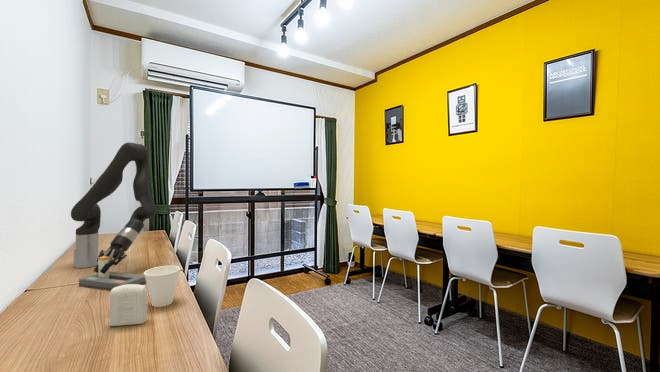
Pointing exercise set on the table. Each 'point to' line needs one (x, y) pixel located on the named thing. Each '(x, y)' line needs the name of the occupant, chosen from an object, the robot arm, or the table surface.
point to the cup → (162, 284)
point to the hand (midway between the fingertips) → (99, 272)
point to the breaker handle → (101, 263)
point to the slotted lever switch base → (111, 280)
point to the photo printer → (128, 305)
